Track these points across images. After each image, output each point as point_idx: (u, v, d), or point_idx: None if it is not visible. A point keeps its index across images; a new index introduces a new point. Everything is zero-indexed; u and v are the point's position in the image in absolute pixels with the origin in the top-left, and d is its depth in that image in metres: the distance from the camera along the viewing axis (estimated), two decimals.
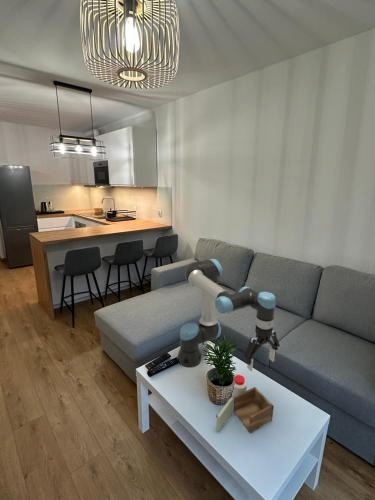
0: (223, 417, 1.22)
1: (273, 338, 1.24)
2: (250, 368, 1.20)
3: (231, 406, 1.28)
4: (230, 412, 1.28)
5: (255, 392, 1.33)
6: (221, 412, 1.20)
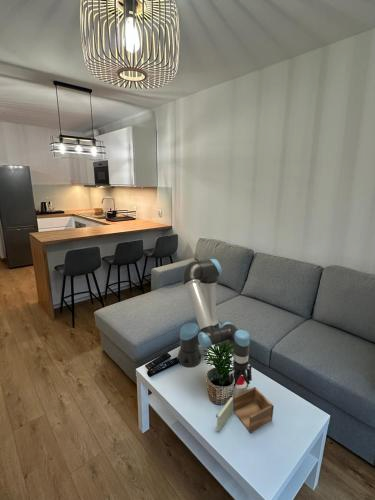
0: (223, 417, 1.22)
1: (248, 371, 1.39)
2: (233, 397, 1.37)
3: (231, 406, 1.28)
4: (230, 412, 1.28)
5: (255, 392, 1.33)
6: (221, 412, 1.20)
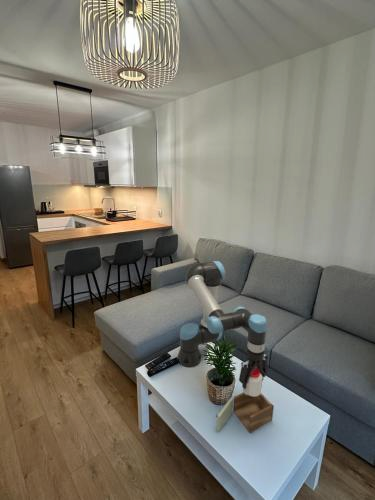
0: (223, 417, 1.22)
1: (263, 363, 1.22)
2: (246, 392, 1.20)
3: (231, 406, 1.28)
4: (230, 412, 1.28)
5: None
6: (221, 412, 1.20)
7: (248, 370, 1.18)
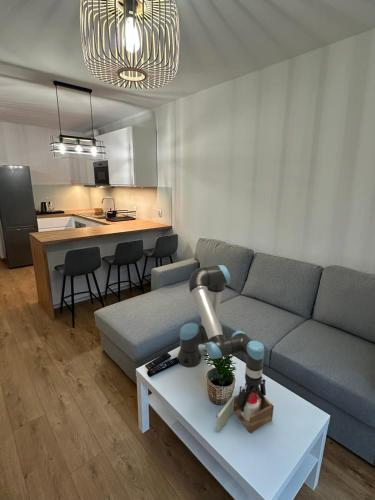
0: (223, 417, 1.22)
1: (261, 386, 1.26)
2: (244, 415, 1.23)
3: (231, 406, 1.28)
4: (230, 412, 1.28)
5: (255, 392, 1.33)
6: (221, 412, 1.20)
7: (246, 394, 1.22)
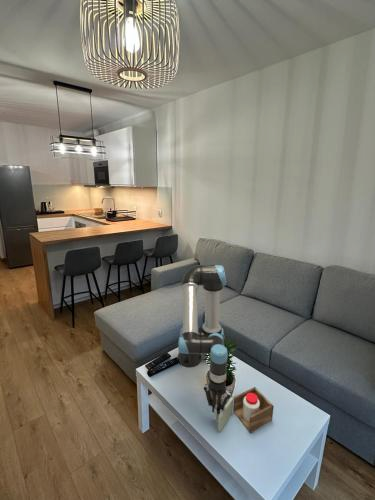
0: (224, 417, 1.22)
1: None
2: None
3: (231, 406, 1.28)
4: (230, 412, 1.28)
5: (255, 392, 1.33)
6: (222, 412, 1.20)
7: None
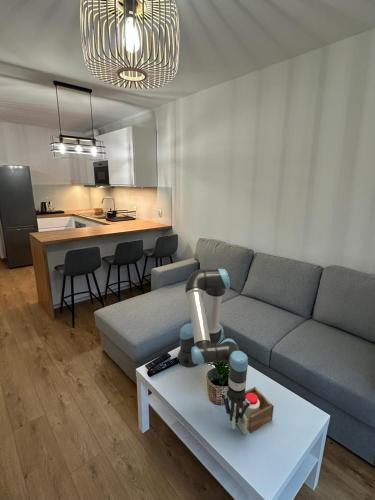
0: None
1: (243, 407, 1.16)
2: None
3: None
4: None
5: (255, 392, 1.33)
6: (243, 415, 1.19)
7: None
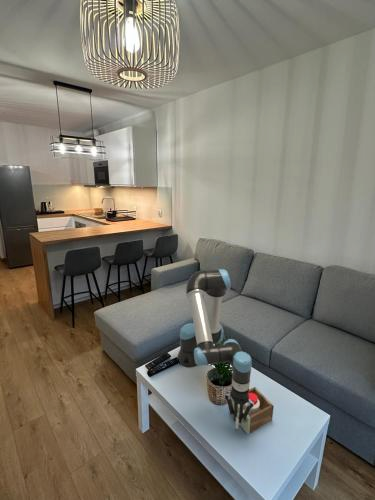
0: None
1: (247, 407, 1.16)
2: (235, 425, 1.20)
3: None
4: None
5: (255, 392, 1.33)
6: None
7: None
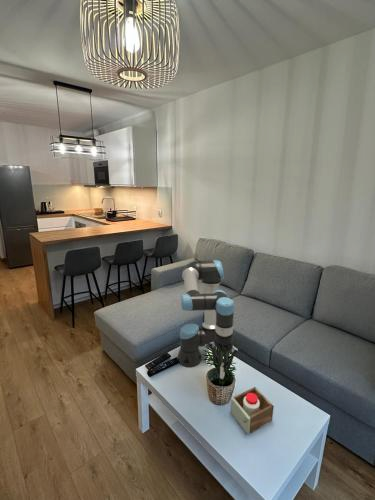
0: None
1: (231, 355, 1.16)
2: (220, 375, 1.20)
3: None
4: None
5: (255, 392, 1.33)
6: (246, 414, 1.19)
7: None
